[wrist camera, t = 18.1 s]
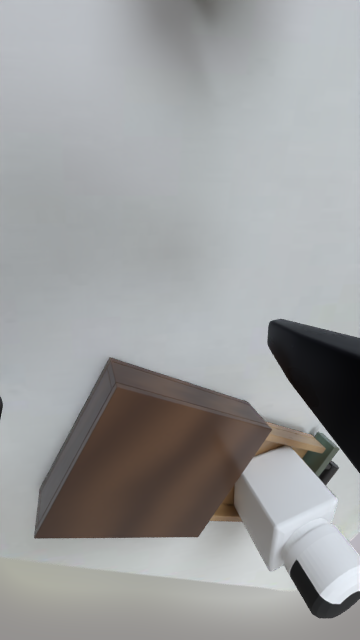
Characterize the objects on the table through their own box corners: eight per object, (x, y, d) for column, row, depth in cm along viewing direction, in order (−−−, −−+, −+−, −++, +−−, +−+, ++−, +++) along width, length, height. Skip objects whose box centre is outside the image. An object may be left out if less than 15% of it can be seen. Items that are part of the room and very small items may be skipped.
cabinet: (248, 401, 30) (272, 429, 26) (184, 499, 32) (198, 537, 29) (109, 357, 22) (117, 387, 19) (39, 489, 25) (33, 538, 21)
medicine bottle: (282, 483, 35) (371, 602, 24) (232, 504, 33) (306, 644, 22) (288, 442, 32) (392, 557, 22) (234, 462, 30) (320, 600, 19)
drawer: (340, 438, 38) (357, 453, 35) (287, 508, 40) (300, 527, 38) (240, 408, 28) (254, 425, 26) (178, 501, 31) (187, 525, 28)
